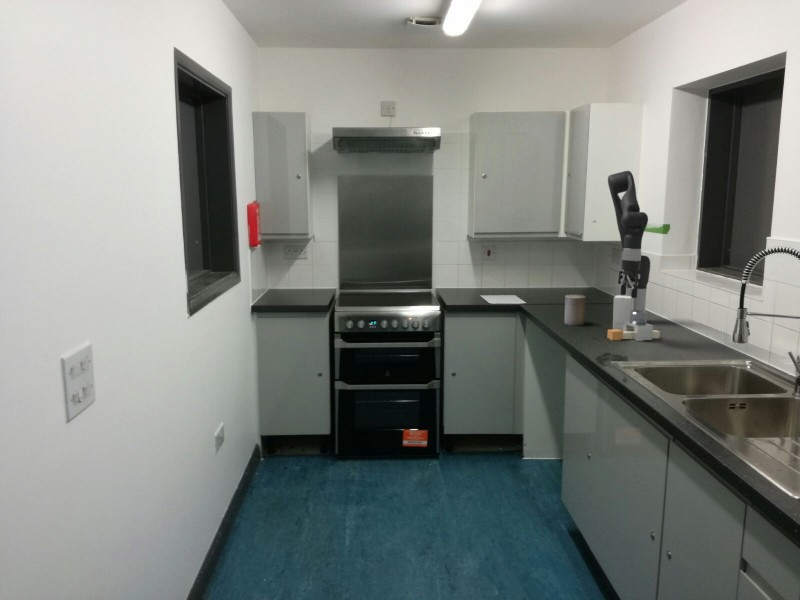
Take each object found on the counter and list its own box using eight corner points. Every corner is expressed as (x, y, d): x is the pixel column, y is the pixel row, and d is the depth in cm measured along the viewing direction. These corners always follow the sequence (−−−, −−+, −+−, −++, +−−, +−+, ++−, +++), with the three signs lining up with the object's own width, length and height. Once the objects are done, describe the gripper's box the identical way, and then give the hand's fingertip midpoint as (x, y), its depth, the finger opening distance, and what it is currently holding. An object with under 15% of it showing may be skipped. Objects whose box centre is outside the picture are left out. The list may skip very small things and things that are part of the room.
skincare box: (632, 328, 281) (635, 296, 278) (630, 331, 275) (632, 298, 272) (614, 326, 285) (616, 294, 282) (611, 329, 279) (613, 296, 276)
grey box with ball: (622, 334, 268) (624, 309, 266) (636, 334, 269) (638, 308, 267) (636, 341, 257) (638, 314, 255) (651, 340, 258) (654, 314, 256)
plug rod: (607, 338, 262) (607, 329, 261) (654, 336, 266) (655, 327, 265) (612, 340, 258) (612, 331, 257) (660, 338, 262) (660, 329, 261)
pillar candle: (587, 323, 293) (588, 292, 291) (581, 326, 285) (582, 295, 283) (567, 321, 298) (568, 291, 296) (561, 324, 290) (562, 293, 288)
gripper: (614, 257, 262) (611, 294, 264) (632, 260, 248) (629, 299, 251) (630, 257, 263) (627, 293, 266) (649, 260, 249) (645, 298, 252)
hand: (628, 296), depth 258 cm, fingers open, 8 cm apart
